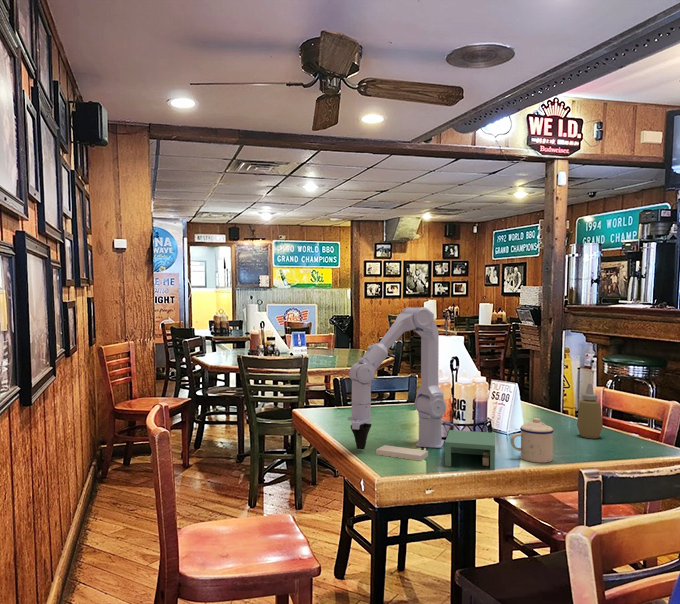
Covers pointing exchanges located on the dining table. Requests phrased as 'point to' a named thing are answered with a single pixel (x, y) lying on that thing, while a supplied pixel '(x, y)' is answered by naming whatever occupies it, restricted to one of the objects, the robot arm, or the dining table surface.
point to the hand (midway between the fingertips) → (360, 448)
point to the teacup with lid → (535, 442)
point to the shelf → (471, 445)
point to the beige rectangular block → (402, 452)
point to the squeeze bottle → (589, 415)
